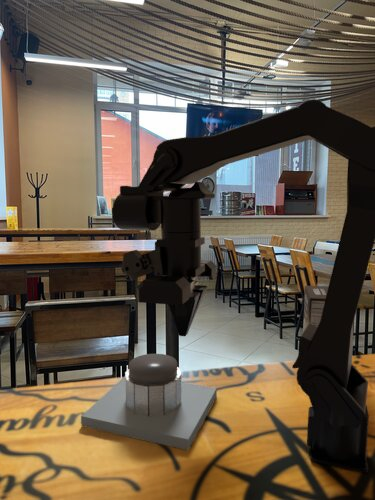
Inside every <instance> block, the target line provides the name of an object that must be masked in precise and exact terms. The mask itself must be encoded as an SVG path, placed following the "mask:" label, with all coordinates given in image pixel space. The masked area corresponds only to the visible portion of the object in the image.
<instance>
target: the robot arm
mask: <svg viewBox="0 0 375 500" xmlns="http://www.w3.org/2000/svg"><path fill="white" fill-rule="evenodd" d="M306 141H314V142H317V143H318V144H320V145H322V146H323V147H325V148H327V149H329V150H331V151H332V152H334V153H336V154H337V155H339V156H341V157H343V158H344V159H346V160H347V174H346V175H347V177H346V213H345V217H344V221H343V226H342V230H341V234H340V238H339V243H338V246H337V247H338V248H337V250H336V251H337V252H336V254H335V255H336V256H335V258H334V264H333V266H332V271H331V276H330V280H329V284H328V291H327V295H326V300H325V304H324V308H323V312H322V316H321V320H320V323H319V325H318V327H316V326H314V325H312V324H310V323H309V324H308V325H307V327H306V328H305V330H304V332H303V331H302V333H301V335H300V336H299V340H298V353H297V354H298V355H297V357H296V359H295V361H294V363H293V364H292V366H291V368H292V369H297V371H296V381H297V385H298V386H299V387H300V389H301V391H302V392H303V393H305V394H306V396H307V397H308V398H309V401H310V404H311V406H310V407H308V415H307V432H306V433H307V434H306V446H307V447H308V448H310V451H309V452H310V454H309V455H310V456H309V460H310V461H311V462H314V463H319V464H322V465H323V464H324V465H328V466H332V467H337V468H342V469H347V470H352V471H355V472H360V473H368V471H369V462H368V458H367V450H368V449H367V447H368V434H369V433H368V432H369V419H370V418H369V417H370V415H369V411H368V406H367V396H368V388H369V382H368V380H367V379H366V377H364V375H362V373H361V372H360V371H359V370H358V369H357V368H356V367H355V366H354V364H353V351H354V350H353V349H354V348H353V347H354V321H355V318H356V313H357V310H358V306H359V302H360V299H361V294H362V291H363V287H364V283H365V279H366V275H367V272H368V268H369V265H370V259H371V256H372V252H373V249H374V245H375V125H374V126H370V125H368V124H366V123H364V122H362V121H360V120H358V119H356V118H354V117H351V116H349V115H348V114H345V113H342V112H340V111H337V110H335V109H334V108H331V107H329V106H327V105H326V104H325V103H324V102H322V101H321V100H319V99H313V98H312V99H309V100H305V101H303V102H302V103H301V104H299V105H297V106H294V107H292V108H291V107H290V108H289V109H285V110H283V111H279V112H276V113H274V114H271V115H268V116H266V117H265V116H264V117H262V118H259V119H256V120H253V121H250V122H248V123H247V122H246V123H244V124H242V125H238V126H236V127H233V128H230V129H227V130H224V131H222V132H218V133H216V134H211V135H205V136H203V135H202V136H185V137H178V138H171V139H167V140H163V141H162V142H160V143H158V145H157V146H156V147H155V148H156V150H155V151H154V154H153V159H152V161H151V163H150V165H149V167H148V169H147V170H146V172H145V173H144V176H143V177H142V179H141V181H140V182H139V184H138V186H135V185H120V187H119V194H118V195H117V196H116V197H115V199H114V201H113V206H112V207H111V216H112V219H113V220H112V221H113V222H114V224H115V226H116V227H117V228H118V229H120V230H126V231H156V230H158V229H159V228H160V229H161V231H160V232H161V237H160V238H158V239H156V241H155V242H154V249H153V250H151V251H147V252H145V253H143V254H142V253H141V252H140V251H139V250H138V249H134V250H131V251H128V252H126V253H123V255H122V261H121V264H122V267H121V272H122V273H124V274H125V275H127V276H129V279H130V281H131V282H132V281H136V280H138V278H141V277H143V276H146V275H149V274H151V273H153V275H151V276H149V277H147V278H145V279H143V280H141V282H140V283H139V284H138V285H137V286H136V301H137V302H138V303H144V304H156V305H157V304H159V305H168V308H169V310H170V311H169V312H170V313H171V316H172V319H173V321H174V324H175V327H176V331H177V334H178V336H179V337H186V336H187V335H188V334H189V331H190V328H191V326H192V324H193V322H194V319H195V317H196V314H197V311H198V309H199V306H200V304H201V302H202V300H203V297H204V296H205V294H206V291H207V290H208V285H203V284H202V285H201V284H199V281H198V280H196V279H197V278H198V277H208V280H210V281H211V280H212V281H213V280H215V279H216V278H217V276H218V274H217V273H218V271H217V270H218V267H217V265H216V264H215V262H213V260H208V259H206V260H205V259H202V245H204V244H205V242H206V240H205V239H206V238H205V236H202V231H201V229H202V228H201V227H202V225H201V224H202V222H201V221H202V219H201V217H202V216H201V215H202V214H201V200H207V199H208V200H210V199H211V200H212V199H215V198H216V196H215V195H216V194H215V193H214V192H212V191H211V190H210V189H209V188H208V187H207V186H206V184H205V182H202V180H203V179H205V178H208V177H210V176H211V175H213V174H214V173H216V172H217V171H218V170H220V169H221V168H223V167H226V166H227V165H229V164H232V163H236V162H240V161H243V160H246V159H249V158H253V157H256V156H259V155H263V154H265V153H266V154H267V153H270V152H274V151H276V150H280V149H283V148H286V147H290V146H294V145H297V144H300V143H303V142H306ZM186 185H192V186H190V187H184V186H186ZM165 192H169V193H168V195H164V194H165Z"/></svg>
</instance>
